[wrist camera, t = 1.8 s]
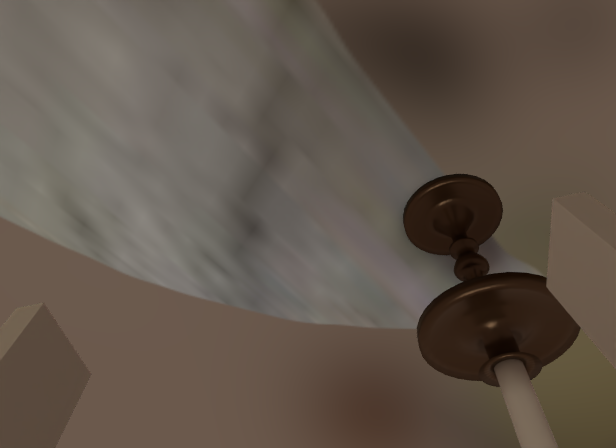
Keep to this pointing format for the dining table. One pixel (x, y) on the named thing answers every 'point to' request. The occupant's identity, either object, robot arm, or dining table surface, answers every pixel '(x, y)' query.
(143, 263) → the dining table surface
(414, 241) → the candlestick
